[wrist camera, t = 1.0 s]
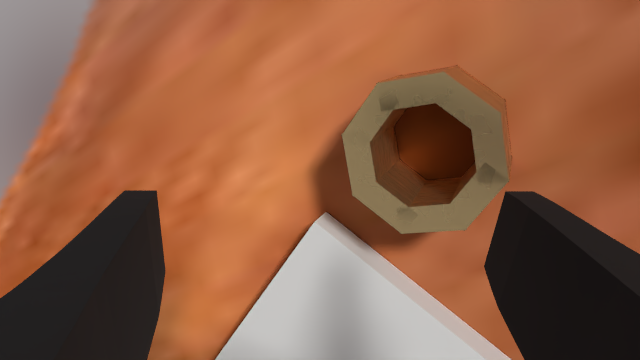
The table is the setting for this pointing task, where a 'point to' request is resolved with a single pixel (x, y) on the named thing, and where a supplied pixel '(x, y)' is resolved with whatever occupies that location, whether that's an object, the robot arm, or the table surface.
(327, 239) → the grey peg base
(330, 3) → the table surface
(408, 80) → the ring
